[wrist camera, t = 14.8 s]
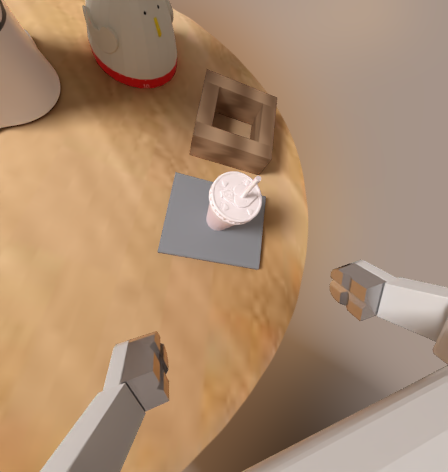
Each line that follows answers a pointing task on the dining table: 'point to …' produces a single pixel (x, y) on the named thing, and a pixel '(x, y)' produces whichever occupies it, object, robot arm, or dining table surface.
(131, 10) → the kitchen timer
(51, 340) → the dining table surface
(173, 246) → the rubber mat
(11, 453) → the dining table surface
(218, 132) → the holder collar
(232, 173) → the smoothie
